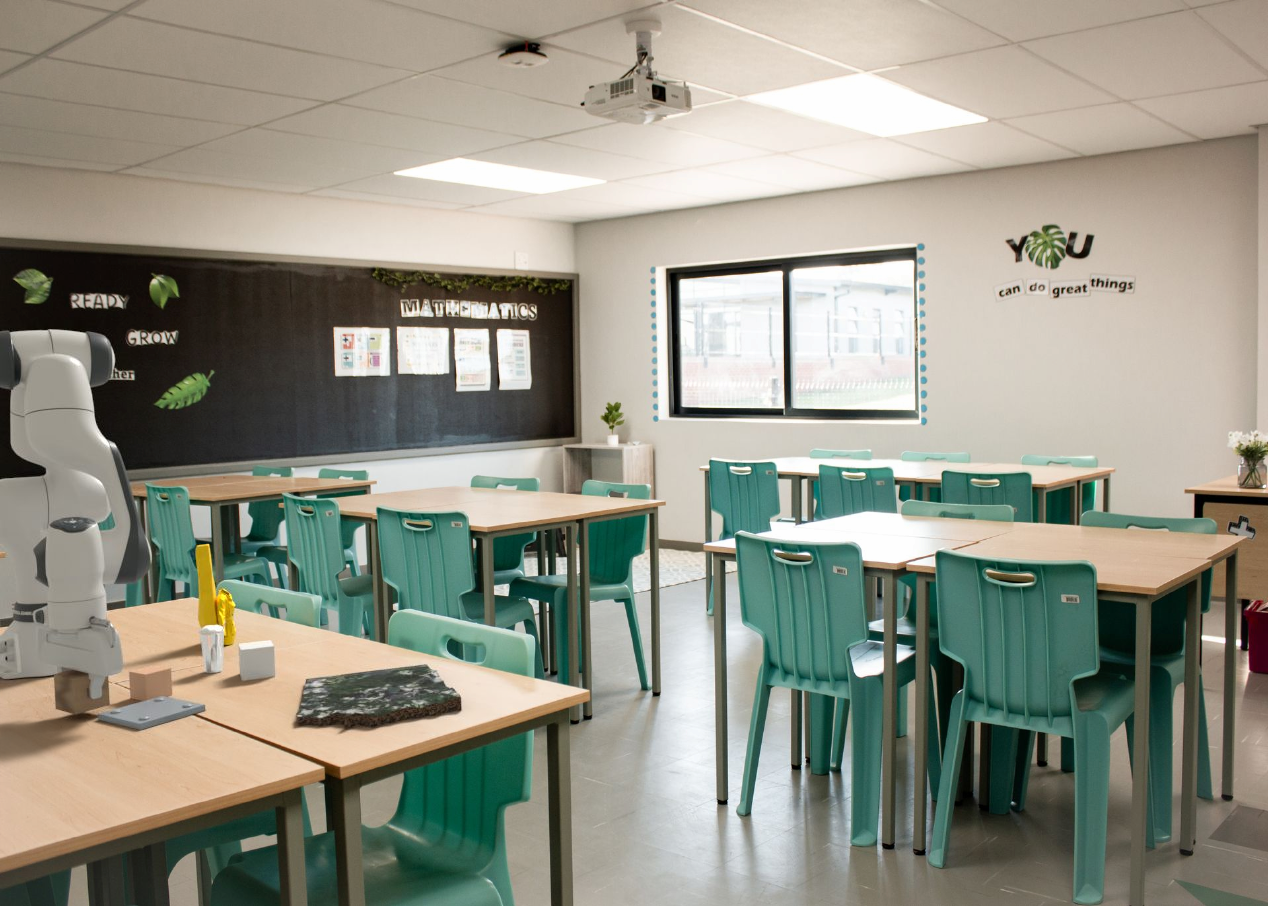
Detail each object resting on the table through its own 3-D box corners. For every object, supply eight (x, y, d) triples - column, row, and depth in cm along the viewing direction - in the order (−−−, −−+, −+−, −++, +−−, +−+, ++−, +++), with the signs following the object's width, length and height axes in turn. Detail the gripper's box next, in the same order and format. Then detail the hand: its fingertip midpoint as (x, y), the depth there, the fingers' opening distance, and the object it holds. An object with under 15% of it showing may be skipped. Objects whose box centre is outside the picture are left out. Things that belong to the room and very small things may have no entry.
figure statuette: (235, 650, 227) (229, 548, 226) (195, 654, 225) (190, 550, 224) (240, 633, 244) (235, 538, 243) (203, 636, 242) (198, 540, 241)
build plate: (98, 719, 179) (97, 712, 179) (163, 701, 189) (162, 694, 189) (140, 729, 173) (140, 722, 173) (205, 710, 183) (205, 703, 183)
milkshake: (221, 674, 207) (218, 623, 207) (196, 674, 208) (193, 623, 208) (234, 668, 212) (232, 618, 211) (210, 668, 213) (207, 618, 212)
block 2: (130, 698, 192) (128, 671, 192) (155, 691, 196) (154, 665, 196) (146, 702, 189) (145, 674, 189) (172, 695, 194) (171, 668, 193)
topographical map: (426, 672, 207) (426, 657, 206) (465, 717, 176) (464, 699, 176) (286, 689, 197) (285, 673, 197) (301, 740, 167) (300, 721, 166)
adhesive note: (239, 674, 208) (238, 643, 207) (272, 670, 210) (270, 639, 210) (242, 681, 202) (240, 649, 202) (275, 677, 205) (274, 645, 204)
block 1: (55, 708, 181) (53, 674, 180) (89, 699, 186) (88, 665, 186) (75, 714, 178) (73, 679, 177) (109, 704, 183) (107, 670, 182)
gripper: (131, 617, 178) (135, 698, 179) (63, 604, 189) (67, 681, 190) (94, 624, 172) (99, 708, 173) (27, 611, 183) (31, 690, 184)
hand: (82, 694), depth 182 cm, fingers closed on block 1, 6 cm apart
